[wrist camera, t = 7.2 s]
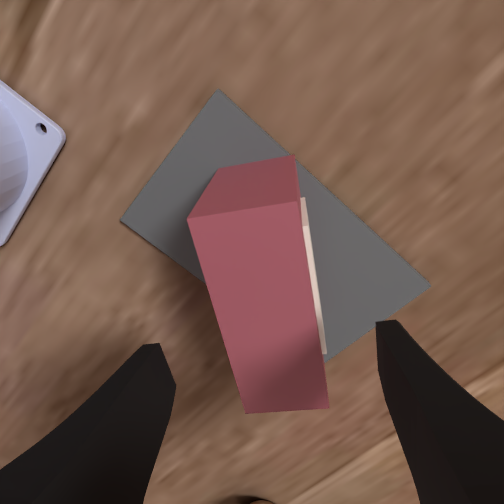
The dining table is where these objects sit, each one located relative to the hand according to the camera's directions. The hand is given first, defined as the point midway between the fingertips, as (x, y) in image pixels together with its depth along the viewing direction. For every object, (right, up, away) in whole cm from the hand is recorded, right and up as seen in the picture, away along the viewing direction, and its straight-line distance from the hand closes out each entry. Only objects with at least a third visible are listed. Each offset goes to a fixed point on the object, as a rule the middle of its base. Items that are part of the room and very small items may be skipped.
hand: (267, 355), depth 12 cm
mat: (+1, +4, +7) cm, 8 cm away
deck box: (+1, +4, +6) cm, 7 cm away
